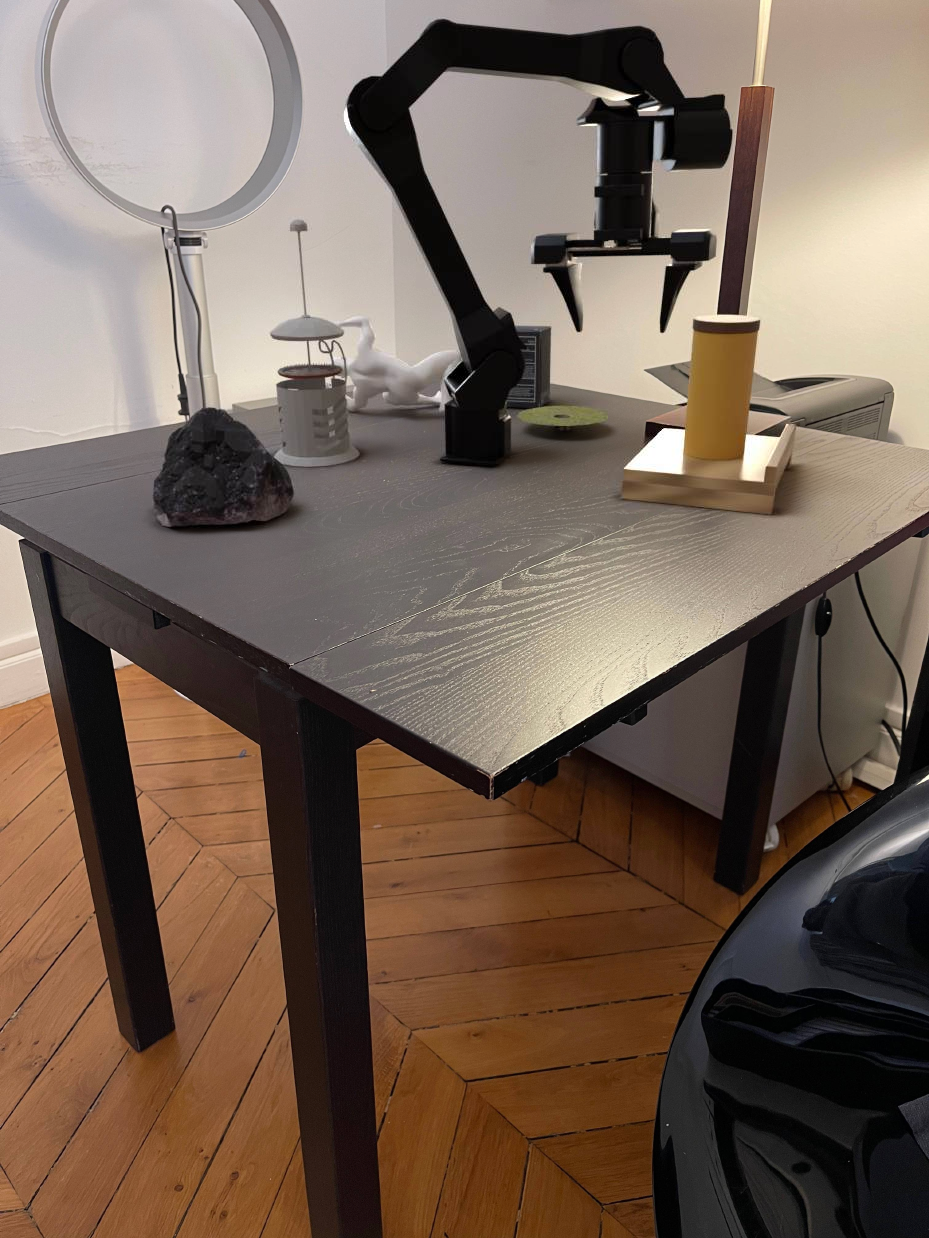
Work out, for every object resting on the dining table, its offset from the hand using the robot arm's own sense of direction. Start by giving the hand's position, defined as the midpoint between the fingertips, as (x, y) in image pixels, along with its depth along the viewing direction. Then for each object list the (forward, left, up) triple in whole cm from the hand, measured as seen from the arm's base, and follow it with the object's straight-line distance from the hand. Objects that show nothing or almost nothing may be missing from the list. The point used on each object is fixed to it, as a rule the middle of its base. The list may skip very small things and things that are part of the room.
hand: (620, 332), depth 102 cm
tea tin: (+12, -10, -10) cm, 18 cm away
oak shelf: (+12, -10, -13) cm, 20 cm away
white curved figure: (-32, +11, -13) cm, 37 cm away
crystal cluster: (-31, -33, -13) cm, 47 cm away
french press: (-32, -11, -13) cm, 36 cm away
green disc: (-8, +8, -13) cm, 18 cm away
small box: (-19, +22, -13) cm, 32 cm away
